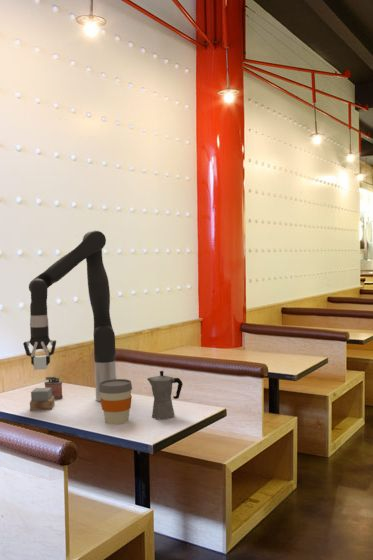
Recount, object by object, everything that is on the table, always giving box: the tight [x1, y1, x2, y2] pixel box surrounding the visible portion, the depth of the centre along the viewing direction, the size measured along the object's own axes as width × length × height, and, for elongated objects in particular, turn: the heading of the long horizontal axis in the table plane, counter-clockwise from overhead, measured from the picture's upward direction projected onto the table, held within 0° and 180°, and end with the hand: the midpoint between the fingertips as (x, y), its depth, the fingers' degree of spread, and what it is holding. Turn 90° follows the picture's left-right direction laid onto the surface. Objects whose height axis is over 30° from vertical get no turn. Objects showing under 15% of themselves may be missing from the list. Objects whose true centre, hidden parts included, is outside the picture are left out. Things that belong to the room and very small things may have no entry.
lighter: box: [44, 375, 64, 400], centre depth 255 cm, size 8×3×10 cm, turn 84°
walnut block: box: [29, 396, 55, 412], centre depth 240 cm, size 9×9×4 cm
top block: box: [33, 355, 49, 371], centre depth 240 cm, size 5×5×5 cm
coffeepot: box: [146, 370, 183, 420], centre depth 220 cm, size 15×9×18 cm, turn 66°
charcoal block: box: [30, 387, 52, 401], centre depth 240 cm, size 7×7×4 cm
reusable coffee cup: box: [99, 378, 133, 425], centre depth 216 cm, size 13×13×15 cm
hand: (40, 364), depth 240 cm, fingers closed on top block, 5 cm apart
